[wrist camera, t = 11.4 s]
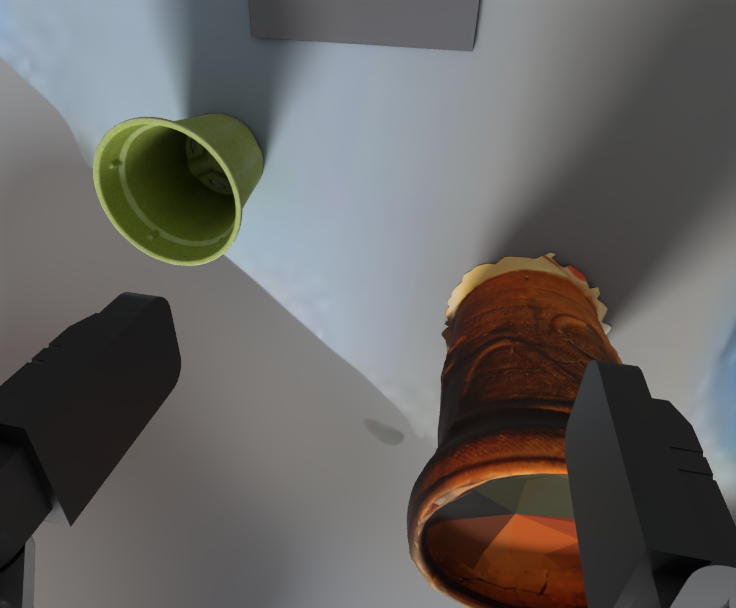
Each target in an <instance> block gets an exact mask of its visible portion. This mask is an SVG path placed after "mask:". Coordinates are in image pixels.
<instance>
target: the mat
mask: <svg viewBox="0 0 736 608" xmlns="http://www.w3.org/2000/svg"><path fill="white" fill-rule="evenodd" d="M478 6H479V0H249V10H250V23H251V35H252V37H257V38H272V39H287V40H303V41H318V42H334V43H349V44H365V45H380V46H396V47H411V48H427V49H442V50H458V51H473V44H474V37H475V29H476V21H477V14H478Z"/></svg>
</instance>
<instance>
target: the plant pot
mask: <svg viewBox="0 0 736 608" xmlns="http://www.w3.org/2000/svg"><path fill="white" fill-rule="evenodd" d="M192 139H195V140H196V141H197V142H196V144H195V152H193V151H192V149H191V143H192ZM262 171H263V155H262V151H261V150H260V148H259V146H258V144H257V142H256V140H255V138H254V136H253V133H252V132H251V131H250V130H249V129H248V127H246V126H245V125H244V124H243V123H242V122H240V121H239V120H237V119H235V118H233V117H231V116H228V115H224V114H216V113H215V114H206V115H202V116H198V117H193V118H189V119H184V120H178V121H171V120H167V119H163V118H156V117H138V118H133V119H129V120H126V121H124V122H122V123H119V124H118V125H116V126H114V127H113V128H112V129H110V130H109V131H108V132H107V133H106V134H105V135H104V137H103V138H102V140H101V141H100V143H99V145H98V147H97V150H96V153H95V156H94V164H93V178H94V184H95V188H96V192H97V195H98V198H99V200H100V203H101V205H102V207H103V209H104V211H105V213H106V214H107V216H108V218H109V219H110V221H111V222H112V223H113V225H114V226H115V227H116V229H117V230H118V231H119V232H120V233H121V234H122V235H123V236H124V237H125V238H126V239H127V240H128V241H129V242H130V243H131V244H133V245H134V246H135V247H137V248H138V249H140V250H141V251H143V252H144V253H146V254H148V255H150V256H151V257H153V258H156V259H158V260H161V261H164V262H167V263H171V264H175V265H189V266H193V265H200V264H205V263H208V262H210V261H212V260H215V259H217V258H218V257H220V256H221V255H222V254H224V253H225V252H226V251H227V250H228V249H229V248H230V246H231V245H232V244H233V242H234V241H235V239H236V237H237V235H238V232H239V229H240V225H241V220H242V209H243V207H244V205H245V203H246V202H247V200H248V198H249V196H250V195H251V193H252V192H253V190H254V188H255V187H256V185H257V183H258V182H259V180H260V178H261V175H262ZM210 179H213V180H215V181H216V182H218V183H220V184H223V185H225V186H226V187H225V188H222V187H218V186H215V185H214V184H212V183H211V182H210V181H209V180H210Z"/></svg>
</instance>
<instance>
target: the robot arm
mask: <svg viewBox="0 0 736 608" xmlns="http://www.w3.org/2000/svg"><path fill="white" fill-rule="evenodd" d="M180 370H181V356H180V352H179V347H178V342H177V337H176V332H175V328H174V323H173V318H172V313H171V309H170V305H169V303H168V301H167V300H166V299H165V298H163V297H158V296H151V295H144V294H137V293H130V292H125V293H122V294H120V295H119V296H118V297H117V298H116V299H114V300H113V301H112V302H111V303H110V304H109V305H108V306H107V307H105V308H104V309H103V310H102V311H101V312H100V313H95V314H93V315H91V316H89V317H87V318H85V319H83V320H81V321H79V322H77V323H75V324H74V325H71V326H69V327H68V328H67V329H66V330H65V331H63V332H62V333H61V334H60V335H59V336H58V337H56V338H55V339H54V340H53V341H52V342H51V343H49V347H48V348H44V349H43V350H41V351H40V352H39V353H38V354H37V355H36V356H34V357H33V358H32V362H31V363H26V364H25V365H24V366H23V367H22V368H21V369H19V370H18V371H17V372H16V373H15V374H14V375H12V376H11V377H10V378H9V379H8V380H7V381H5V382H4V383H3V384H2V385H1V386H0V608H34V582H35V581H34V580H35V554H36V546H35V541H34V538H33V536H32V534H33V533H34V531H35V530H36V529H37V528H38V526H39V525H40V524H41V523H42V522H43V521H46V522H50V523H56V524H60V525H64V526H69V527H71V526H72V524H73V523H74V522H75V520H76V519H77V518H78V516H79V515H80V514H81V512H82V511H83V510H84V508H85V507H86V506H87V504H88V503H89V502H90V500H91V499H92V497H93V496H94V495H95V493H96V492H97V491H98V489H99V488H100V487H101V485H102V484H103V483H104V481H105V480H106V479H107V477H108V476H109V475H110V473H111V472H112V471H113V469H114V468H115V467H116V465H117V464H118V463H119V461H120V460H121V459H122V457H123V456H124V454H125V453H126V452H127V450H128V449H129V448H130V446H131V445H132V444H133V442H134V441H135V440H136V438H137V437H138V436H139V434H140V433H141V432H142V430H143V429H144V428H145V426H146V425H147V424H148V422H149V421H150V420H151V418H152V417H153V416H154V414H155V413H156V412H157V410H158V409H159V407H160V406H161V405H162V403H163V402H164V401H165V399H166V398H167V397H168V395H169V394H170V393H171V391H172V390H173V389H174V387H175V385H176V383H177V381H178V378H179V375H180ZM565 459H566V466H567V472H568V479H569V486H570V492H571V499H572V506H573V512H574V519H575V526H576V532H577V539H578V546H579V552H580V559H581V565H582V572H583V579H584V585H585V592H586V599H587V605H588V608H736V526H735V524H734V521H733V519H732V517H731V514H730V512H729V510H728V508H727V505H726V503H725V501H724V498H723V496H722V494H721V491H720V489H719V487H718V485H717V482H716V481H715V480H713V473H712V471H711V468H710V466H709V464H708V461H707V459H706V457H703V450H702V448H701V445H700V443H699V441H698V438H697V436H696V434H695V432H694V429H693V427H692V425H691V424H690V423H689V422H688V421H687V420H686V419H685V418H684V416H683V415H682V414H681V413H680V412H679V411H678V410H677V409H676V408H675V407H674V406H673V405H672V404H671V403H670V402H669V401H667V400H660V399H654V398H652V397H651V395H650V392H649V389H648V387H647V384H646V381H645V378H644V376H643V373H642V371H641V369H640V368H639V367H638V366H632V365H625V364H618V363H611V362H604V361H597V360H591V361H590V362H589V364H588V366H587V368H586V370H585V373H584V376H583V379H582V382H581V385H580V388H579V391H578V394H577V397H576V400H575V402H574V405H573V408H572V411H571V414H570V417H569V420H568V423H567V428H566V434H565Z"/></svg>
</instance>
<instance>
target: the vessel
mask: <svg viewBox="0 0 736 608" xmlns="http://www.w3.org/2000/svg"><path fill="white" fill-rule="evenodd" d="M554 255H556V254H554V253H552V252H551V253H548V254H545V255H543V256H541V257H538V258H536V259H532V258H525V257H504V258H503V259H501V260H500V261H499V262H498V263H497V264H495V265H494V264H488V263H487V264H483V265H479V266H476V267H475V268H474V269H473V270H472V271H470V272H468V273H466V274H464V276H463V279H462V282H461V283H460V284H459V285H458V286H457V287H456V288H455V289H454V290H453V292H452V295H451V297H450V298H449V300H448V302H447V303H448V305H449V308H448V309H447V312H446V316H447V318H448V322H447V323H445V325H447V326H449V328H448V329H446V330H445V331H444V332H443V333H442V334H441V335H442V336H443V337H444V339H445V340H446V345H447V355H446V360H445V362H444V367H443V371H442V375H441V403H440V416H439V425H438V448H437V450H436V452H435V454H434V456H433V457H432V458H431V459H430V460H429V462H428V463H427V464H426V466H425V467H424V469H423V471H422V472H421V474H420V475H419V477H418V479H417V480H416V482H415V484H414V487H413V489H412V492H411V496H410V500H409V505H408V512H407V533H408V542H409V550H410V556H411V559H412V560H413V561H414V563H415V564H416V566H417V568H418V570H419V571H420V573H421V574H422V576H423V577H424V578H425V579H426V581H427V582H428V583H429V585H430V586H432V587H433V588H434V589H435V590H436V591H438V592H440V593H441V594H443V595H445V596H447V597H449V598H451V599H453V600H454V601H456V602H458V603H460V604H462V605H464V606H465V607H467V608H588V605H587V599H586V592H585V585H584V579H583V572H582V565H581V559H580V552H579V546H578V539H577V532H576V526H575V519H574V512H573V506H572V499H571V492H570V486H569V479H568V472H567V466H566V459H565V434H566V428H567V423H568V420H569V417H570V414H571V411H572V408H573V405H574V402H575V400H576V397H577V394H578V391H579V388H580V385H581V382H582V379H583V376H584V373H585V370H586V368H587V366H588V364H589V362H590V361H591V360H597V361H604V362H611V363H618V364H622V362H621V360H620V358H619V356H618V353H617V352H616V350H615V349H614V348H613V347H612V346H611V344H610V342H609V340H608V338H607V336H606V334H607V333H608V332H609V331H610V330H611V328H612V327H610V326H609V325H608V324H605V323H603V322H602V320H603V318H604V316H605V314H606V312H607V309H608V308H607V307H606V306H605V305H604V304H603V303H602V302H600V301H599V300H598V299H597V298H598V296H599V295H600V291H599V288H598V287H596V288H592V289H590V288H589V286H588V284H587V281H586V277H585V276H584V275H583V274H582V273H580V272H579V271H578V270H576V269H575V268H574V267H572V266H571V265H570V266H567V267H564V268H563V267H562V266H560V265H559V264H557V263H556V262H555V261H554V260H553V259H552V257H553V256H554Z"/></svg>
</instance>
